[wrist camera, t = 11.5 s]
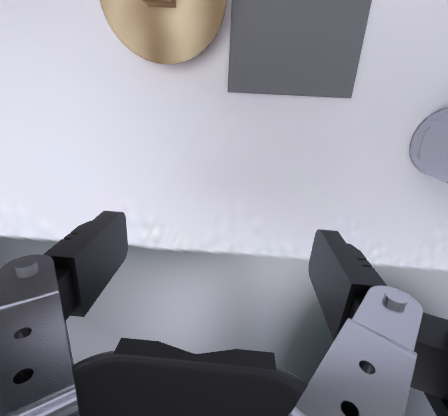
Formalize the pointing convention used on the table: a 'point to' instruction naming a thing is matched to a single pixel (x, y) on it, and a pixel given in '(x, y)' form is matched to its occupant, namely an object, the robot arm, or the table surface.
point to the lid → (165, 26)
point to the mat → (296, 46)
